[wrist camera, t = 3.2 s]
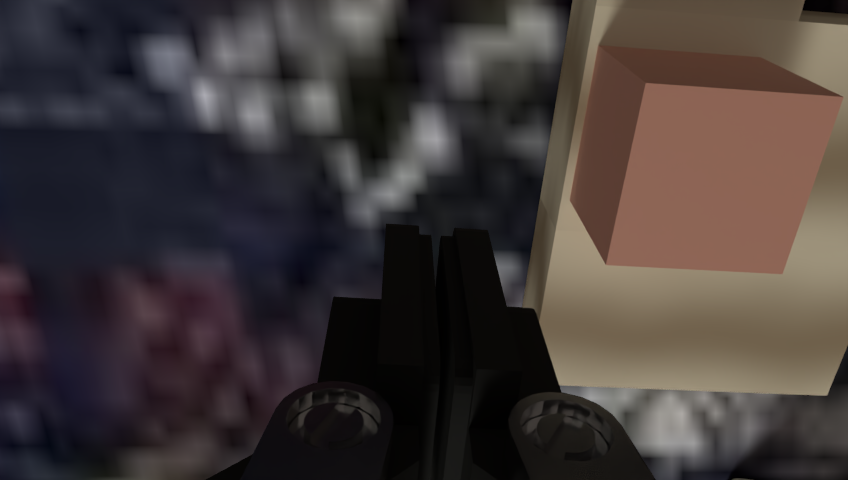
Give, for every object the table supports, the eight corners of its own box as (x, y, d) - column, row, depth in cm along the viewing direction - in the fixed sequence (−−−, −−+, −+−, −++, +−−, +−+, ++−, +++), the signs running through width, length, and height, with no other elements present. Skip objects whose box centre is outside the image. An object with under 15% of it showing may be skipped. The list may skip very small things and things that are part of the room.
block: (597, 45, 19) (645, 83, 16) (760, 57, 19) (843, 96, 16) (569, 200, 21) (605, 264, 18) (716, 208, 21) (782, 274, 18)
